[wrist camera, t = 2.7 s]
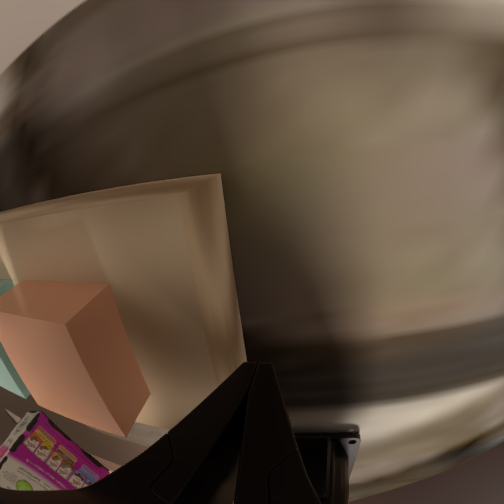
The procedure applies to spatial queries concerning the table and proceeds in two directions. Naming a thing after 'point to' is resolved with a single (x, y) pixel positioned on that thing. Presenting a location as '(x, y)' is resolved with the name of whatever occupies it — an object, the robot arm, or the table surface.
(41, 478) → the candy bar box
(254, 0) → the table surface
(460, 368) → the table surface
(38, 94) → the table surface
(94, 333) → the terracotta block
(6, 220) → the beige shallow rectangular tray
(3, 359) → the mint green block
